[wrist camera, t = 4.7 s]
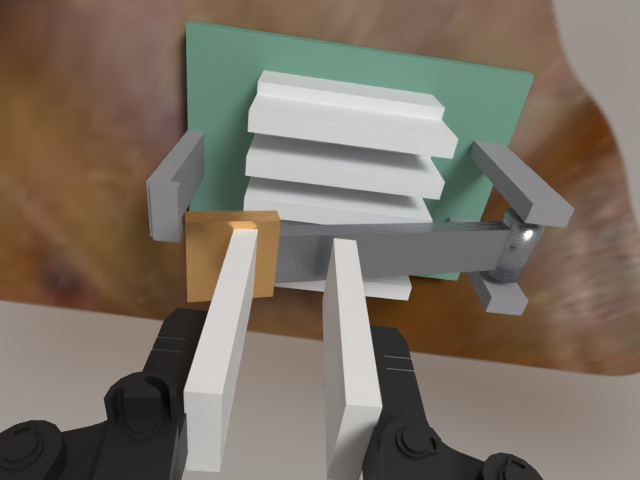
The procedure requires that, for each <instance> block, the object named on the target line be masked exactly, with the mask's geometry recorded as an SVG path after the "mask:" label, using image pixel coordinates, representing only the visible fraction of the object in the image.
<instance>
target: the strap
mask: <svg viewBox="0 0 640 480" xmlns="http://www.w3.org/2000/svg"><path fill="white" fill-rule="evenodd" d="M544 228H545V225H539V224H531V223H525V222H524V221H523V220H522V219H521V217H520V216H519V215H518V214H517V213H516V211H515V210H514V209H513V208H508V209H506V211H505V214H504V216H503V219H502V221H487V222H435V223H384V224H332V225H281V219H280V217H279V214H278V212H277V210H273V211H185V234H186V273H187V302H200V301H212V298H213V295H214V292H215V289H216V286H217V282H218V279H219V276H220V273H221V269H222V266H223V263H224V260H225V257H226V253H227V250H228V247H229V244H230V240H231V237H232V234H233V231H234V229H258V235H257V249H256V262H255V276H254V290H253V298H257V297H272V296H273V291H274V283H290V282H307V281H323V280H326V278H327V272H328V267H329V261H330V256H331V250H332V245H333V239H334V238H338V239H347V240H356V243H357V250H358V256H359V262H360V268H361V275H362V278H373V277H390V276H406V275H423V274H440V273H456V272H473V271H485V272H486V273H487V274H488V275H489V276H491V277H492V278H494V279H496V280H499V281H502V282H506V283H516V282H518V281H519V280H520V278H521V276H522V274H523V272H524V270H525V268H526V266H527V264H528V261H529V259H530V257H531V255H532V253H533V251H534V249H535V247H536V244H537V242H538V240H539V238H540V236H541V234H542V232H543V230H544Z"/></svg>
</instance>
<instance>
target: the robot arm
mask: <svg viewBox="0 0 640 480" xmlns="http://www.w3.org/2000/svg"><path fill="white" fill-rule="evenodd" d="M257 235H258V229H234V231H233V234H232V237H231V240H230V244H229V247H228V250H227V253H226V257H225V260H224V263H223V266H222V269H221V273H220V276H219V279H218V282H217V286H216V289H215V292H214V295H213V298H212V302H211V305H210V308H209V311H202V310H192V309H181V308H177V309H176V310H175V311H174V312H173V313H172V314H171V315H170V316H168V317H167V318H166V319H165V320H164V322H163V325H162V327H161V329H160V332H159V334H158V338H157V339H156V341H155V343H154V345H153V349H152V351H151V353H150V355H149V357H148V359H147V362H146V364H145V366H144V369H143V371H142V372H136V373H132V374H130V375H128V376H126V377H124V378H121V379H120V380H119V381H117V382H116V383H115V384H114V385H113V386H111V387H110V389H109V390H108V392H107V394H106V396H105V397H104V402H105V407H106V413H107V418H108V420H106V421H104V422H102V423H99V424H95V425H92V426H88V427H84V428H79V429H74V430H69V431H64V432H61V431H60V430H59V429H58V427H57V426H56V425H55V424H52V423H50V422H47V421H45V420H30V421H27V422H23V423H20V424H16V425H14V426H12V427H10V428H8V429H7V430H5V431H3V432H1V433H0V480H181V478H182V475H183V471H184V467H185V463H186V466H187V470H196V471H211V472H220V468H221V462H222V457H223V452H224V447H225V441H226V436H227V431H228V425H229V420H230V415H231V409H232V404H233V399H234V393H235V388H236V383H237V378H238V372H239V367H240V361H241V356H242V351H243V345H244V340H245V335H246V330H247V324H248V319H249V314H250V308H251V303H252V298H253V290H254V276H255V262H256V249H257ZM322 309H323V348H324V386H325V424H326V462H327V479H331V480H359V478H360V474H361V471H363V480H543V479H542V477H541V476H540V475H539V474H538V472H537V471H536V470H535V469H534V468H533V467H532V466H531V465H529V464H528V463H527V462H526V461H525V460H523V459H521V458H518V457H516V456H514V455H512V454H506V453H497V454H493V455H491V456H489V457H488V459H487V460H486V461H485V462H484V461H481V460H478V459H476V458H473V457H471V456H468V455H466V454H463V453H460V452H458V451H456V450H454V449H452V448H450V447H448V446H447V445H446V444H444V443H443V442H442V441H441V439H440V437H439V436H438V435H437V433H436V432H435V431H434V430H433V429H432V428H431V427H430V426H429V424H428V422H427V419H426V416H425V412H424V408H423V404H422V400H421V396H420V392H419V388H418V385H417V380H416V376H415V373H414V371H413V370H414V368H413V365H412V360H410V357H411V356H410V352H409V348H408V344H407V341H406V340H405V339H404V337H403V336H402V335H401V333H400V332H399V331H398V330H397V328H390V327H380V326H370V325H369V319H368V313H367V306H366V300H365V294H364V287H363V281H362V275H361V268H360V262H359V256H358V250H357V243H356V240H347V239H338V238H334V239H333V245H332V250H331V256H330V261H329V267H328V272H327V278H326V283H325V289H324V295H323V300H322Z"/></svg>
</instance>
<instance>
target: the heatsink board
mask: <svg viewBox="0 0 640 480" xmlns="http://www.w3.org/2000/svg"><path fill="white" fill-rule="evenodd" d="M186 57H187V109H188V130H187V132H186V133H185V134H184V135H183V137H182V138H181V139H180V140H179V142H178V143H177V144H176V145H175V147H174V148H173V149H172V150H171V151H170V153H169V154H168V155H167V156H166V158H165V159H164V160H163V161H162V163H161V164H160V165H159V166H158V168H157V169H156V170H155V171H154V172H153V174H152V175H151V176H150V177H149V179H148V180H147V181H146V186H147V200H148V213H149V226H150V236H152V237H153V240H157V241H166V242H175V243H179V242H180V240H181V238H182V217H183V215H184V213H185V211H186V209H187V208H188V206H189V211H273V210H277V212H278V214H279V217H280V219H281V225H332V224H384V223H435V222H479V221H480V219H481V216H482V213H483V211H484V208H485V205H486V203H487V200H488V198H489V195H490V192H491V190H492V187H493V185H494V186H495V187H496V189H497V190H498V191H499V192H500V193H501V195H502V196H503V197H504V198H505V199H506V201H507V202H508V203H509V204H510V205H511V207H512V208H513V209H514V210H515V211H516V213H517V214H518V215H519V216H520V217H521V219H522V220H523V221H524V222H525V223H531V224H539V225H547V226H555V227H563V228H565V227H566V225H567V223H568V221H569V219H570V217H571V215H572V213H573V212H574V210H575V209H574V208H573V207H572V206H571V205H570V204H569V203H567V202H566V201H565V200H564V199H563V198H562V197H561V196H560V195H559V194H558V193H557V192H555V191H554V190H553V189H552V188H551V187H550V186H549V185H548V184H547V183H546V182H545V181H543V180H542V179H541V178H540V177H539V176H538V175H537V174H536V173H535V172H534V171H533V170H531V169H530V168H529V167H528V166H527V165H526V164H525V163H524V162H523V161H522V160H521V159H519V158H518V157H517V156H516V155H515V154H514V153H513V152H512V151H511V150H510V149H509V148H507V147H508V145H509V142H510V140H511V137H512V134H513V132H514V129H515V126H516V124H517V121H518V119H519V116H520V113H521V111H522V108H523V105H524V103H525V100H526V97H527V95H528V92H529V90H530V87H531V84H532V82H533V79H534V76H535V75H533V74H531V73H529V72H527V71H521V70H514V69H508V68H501V67H495V66H488V65H481V64H475V63H468V62H462V61H455V60H449V59H442V58H435V57H429V56H422V55H416V54H409V53H402V52H396V51H389V50H383V49H376V48H369V47H363V46H356V45H350V44H343V43H337V42H330V41H323V40H317V39H310V38H304V37H297V36H290V35H284V34H277V33H271V32H264V31H258V30H251V29H244V28H238V27H231V26H225V25H218V24H211V23H205V22H198V21H192V20H191V21H189V22H186ZM459 274H460V272H456V273H440V274H423V275H411V276H420V277H429V278H438V279H447V280H456V281H457V279H458V277H459ZM466 274H467V276H468V278H469V280H470V282H471V284H472V286H473V288H474V290H475V292H476V294H477V296H478V298H479V300H480V302H481V304H482V306H483V308H484V310H485V312H493V313H502V314H512V315H522V313H523V311H524V309H525V307H526V305H527V303H528V300H527V298H526V297H525V295H524V293H523V292H522V290H521V289H520V287H519V286H518V284H517V283H506V282H502V281H499V280H496V279H494V278H492V277H491V276H489V275H488V274H487V273H486V272H485V271H473V272H466ZM362 281H363V287H364V294H365V296H370V297H380V298H389V299H399V300H408V298H409V295H410V291H411V288H412V286H411V283H410V280H409V276H408V275H406V276H390V277H373V278H362ZM325 283H326V280H323V281H307V282H290V283H274V286H275V287H285V288H294V289H304V290H313V291H323V292H324V289H325Z"/></svg>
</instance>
